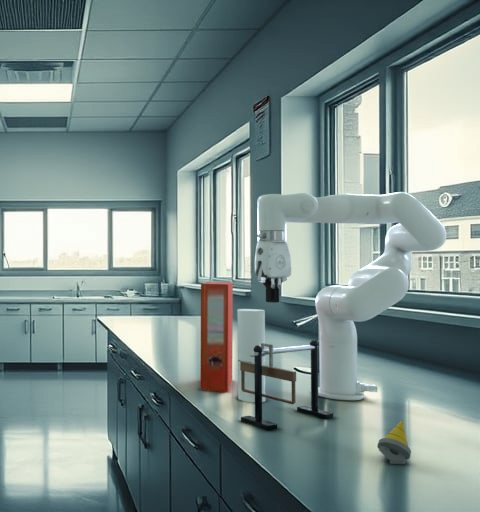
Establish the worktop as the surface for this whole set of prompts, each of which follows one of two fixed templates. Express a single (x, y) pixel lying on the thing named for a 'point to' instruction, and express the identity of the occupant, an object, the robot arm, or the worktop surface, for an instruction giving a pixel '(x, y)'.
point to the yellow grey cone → (395, 445)
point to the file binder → (216, 336)
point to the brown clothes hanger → (269, 375)
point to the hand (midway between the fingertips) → (272, 302)
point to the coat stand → (312, 410)
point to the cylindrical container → (250, 347)
